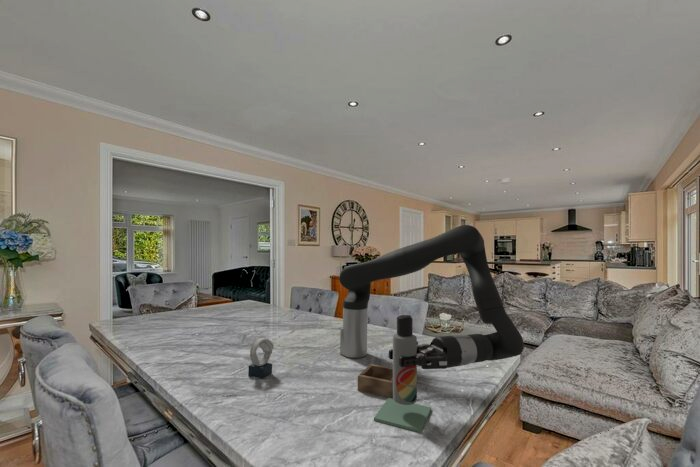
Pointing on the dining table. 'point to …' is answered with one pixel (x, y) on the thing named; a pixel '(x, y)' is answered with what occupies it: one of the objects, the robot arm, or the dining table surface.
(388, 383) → the walnut holder
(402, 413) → the sage mat
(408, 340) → the lotion bottle
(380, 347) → the dining table surface
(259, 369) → the watch
